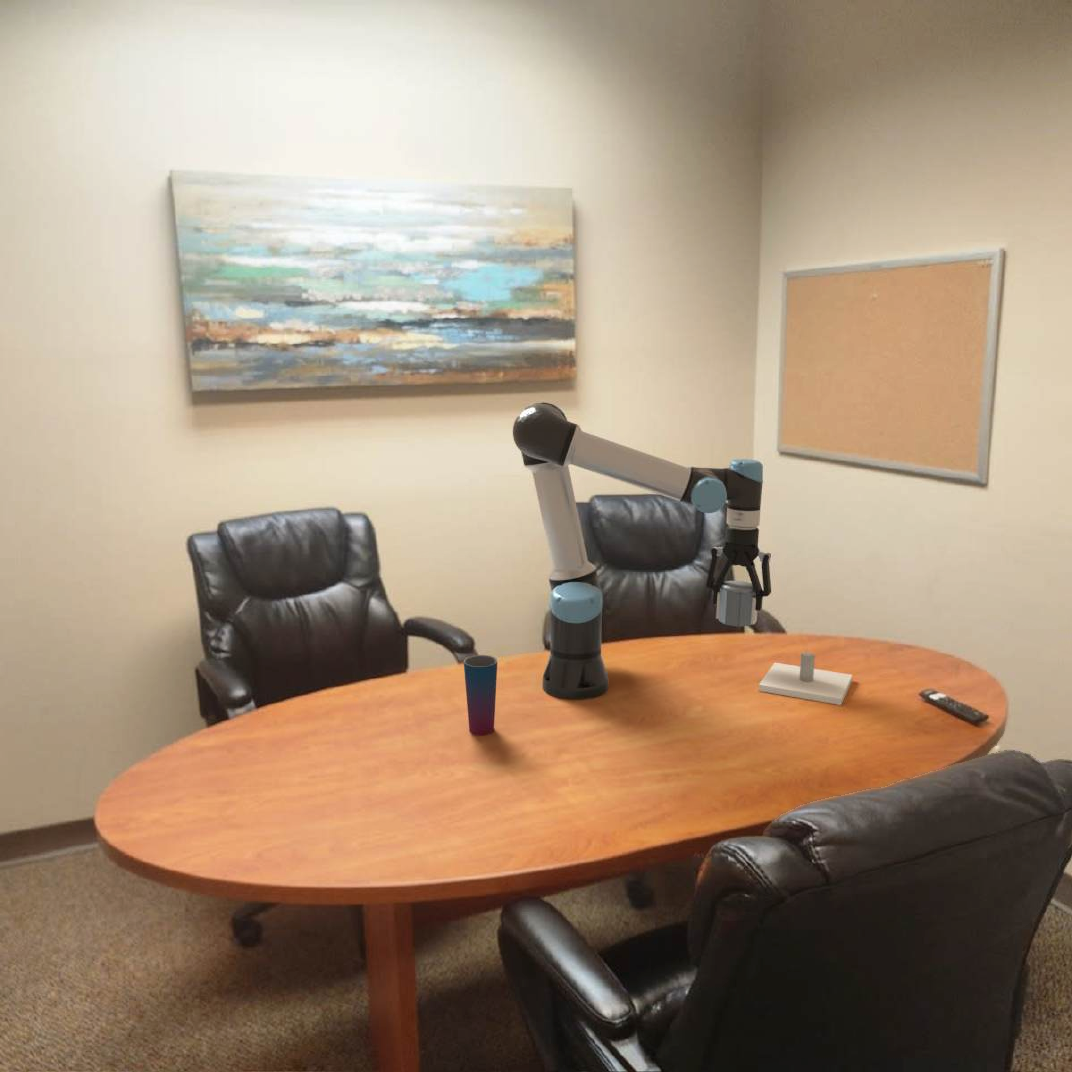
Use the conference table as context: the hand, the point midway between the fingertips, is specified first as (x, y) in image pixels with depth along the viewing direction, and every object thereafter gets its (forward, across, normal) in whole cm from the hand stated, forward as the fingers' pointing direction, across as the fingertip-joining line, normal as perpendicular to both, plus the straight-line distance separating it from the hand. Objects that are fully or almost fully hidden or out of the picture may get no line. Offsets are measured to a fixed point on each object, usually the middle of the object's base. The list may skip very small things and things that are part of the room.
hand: (736, 620), depth 210 cm
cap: (0, 0, 0) cm, 0 cm away
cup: (+14, -37, -56) cm, 69 cm away
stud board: (+13, +18, -2) cm, 22 cm away
